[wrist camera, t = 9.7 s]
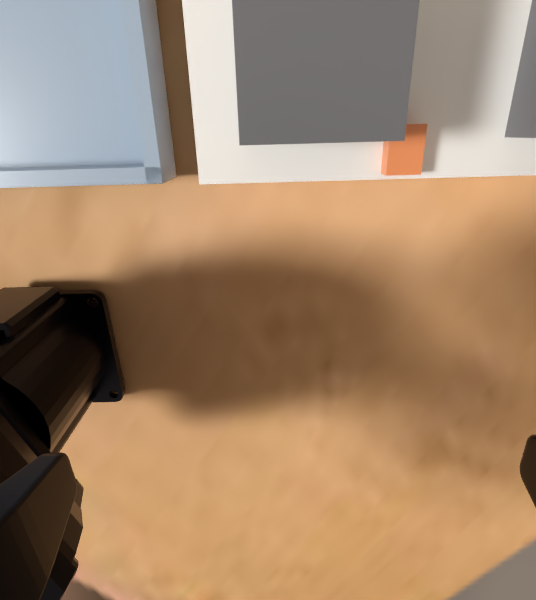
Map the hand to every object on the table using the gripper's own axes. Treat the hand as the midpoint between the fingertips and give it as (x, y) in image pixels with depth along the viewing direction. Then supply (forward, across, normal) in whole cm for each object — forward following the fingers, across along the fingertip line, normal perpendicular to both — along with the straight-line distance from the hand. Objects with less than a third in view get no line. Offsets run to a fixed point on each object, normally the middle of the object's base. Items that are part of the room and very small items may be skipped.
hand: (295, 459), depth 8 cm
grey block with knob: (+11, -1, -8) cm, 14 cm away
